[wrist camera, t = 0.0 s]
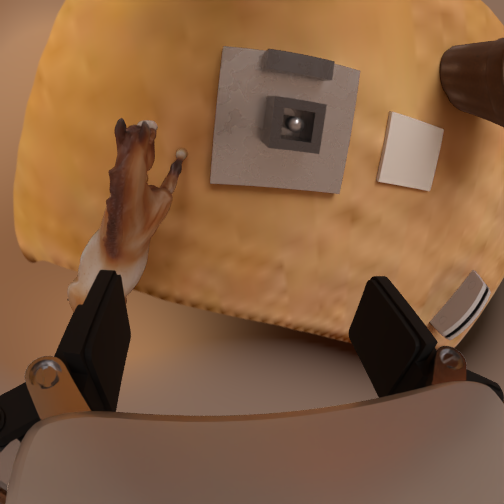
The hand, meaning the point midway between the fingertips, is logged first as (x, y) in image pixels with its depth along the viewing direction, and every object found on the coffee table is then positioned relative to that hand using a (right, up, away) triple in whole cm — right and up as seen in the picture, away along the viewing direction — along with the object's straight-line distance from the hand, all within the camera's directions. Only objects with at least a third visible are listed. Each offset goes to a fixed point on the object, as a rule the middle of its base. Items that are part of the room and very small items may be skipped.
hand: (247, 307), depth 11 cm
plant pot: (+36, +31, +24) cm, 53 cm away
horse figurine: (-19, +9, +29) cm, 35 cm away
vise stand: (+4, +19, +26) cm, 33 cm away
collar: (+5, +18, +25) cm, 31 cm away
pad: (+25, +18, +30) cm, 43 cm away
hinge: (+47, -9, +48) cm, 68 cm away
